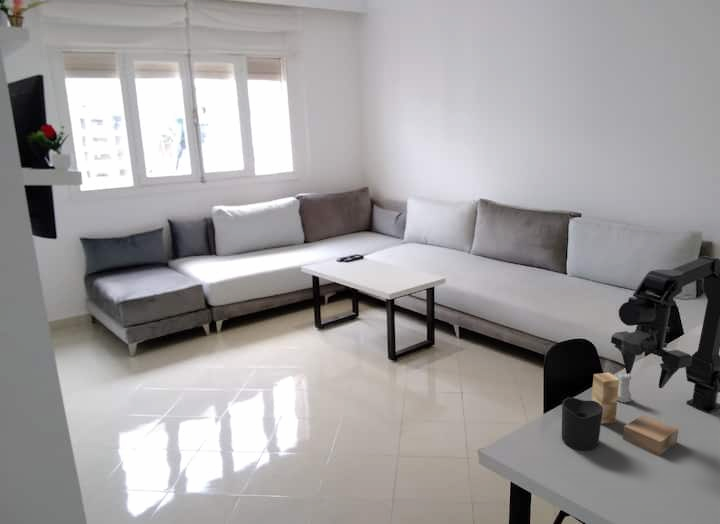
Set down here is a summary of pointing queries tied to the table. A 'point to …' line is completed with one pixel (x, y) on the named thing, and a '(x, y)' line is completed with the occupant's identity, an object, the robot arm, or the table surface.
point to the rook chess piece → (624, 388)
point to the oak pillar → (606, 395)
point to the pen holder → (581, 423)
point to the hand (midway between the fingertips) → (643, 380)
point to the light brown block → (650, 434)
